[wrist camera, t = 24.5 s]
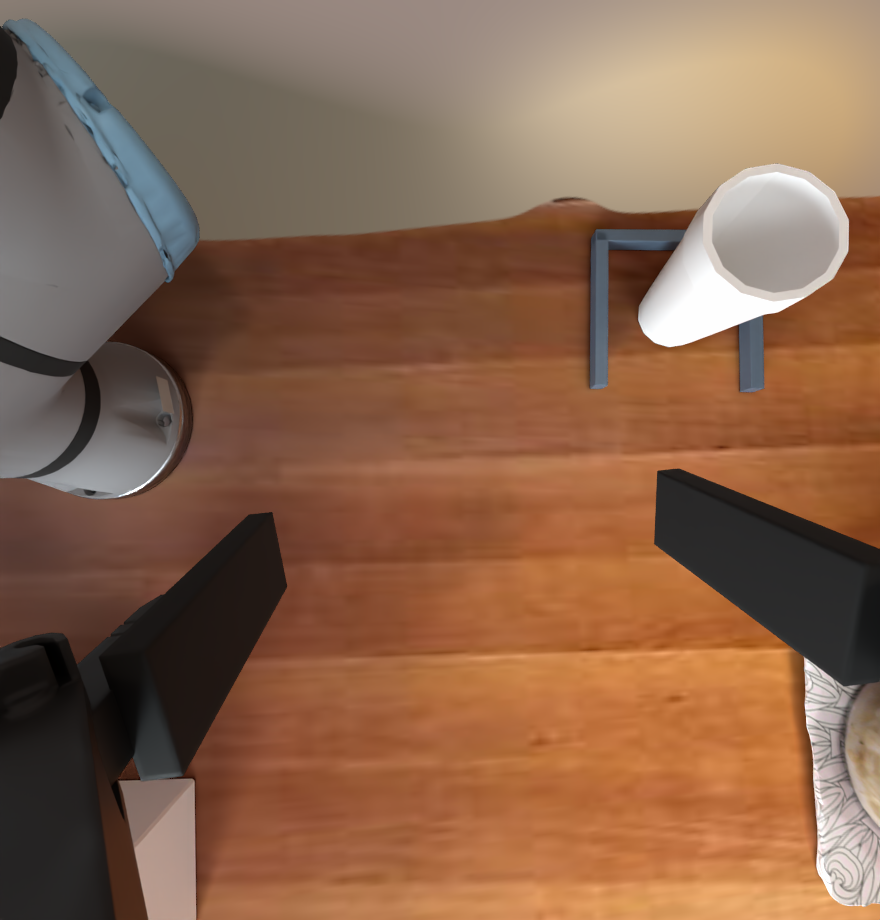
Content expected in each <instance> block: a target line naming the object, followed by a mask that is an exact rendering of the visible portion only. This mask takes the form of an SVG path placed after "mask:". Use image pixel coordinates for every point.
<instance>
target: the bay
mask: <svg viewBox="0 0 880 920" xmlns="http://www.w3.org/2000/svg"><path fill="white" fill-rule="evenodd" d="M685 232H686V230H636V229H596V231H595V232H594V234H593V236H592V238H591V320H590V389H602V388H604V387H605V386H607V385H608V250H675V249H676V248H677V246H678V245H679V243H680V242H681V240H682V239H683V237H684V234H685ZM739 355H740V392H755V391H758V390H761V389H764V350H763V315H762V316H759V317H756V318H754V319H751V320H749V321H746V322H743V323H741V324H739Z"/></svg>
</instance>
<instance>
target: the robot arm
mask: <svg viewBox="0 0 880 920" xmlns="http://www.w3.org/2000/svg"><path fill="white" fill-rule="evenodd" d="M2 27H3V28H1V26H0V478H27V479H29V480H32V481H35V482H38V483H41V484H44V485H47V486H50V487H53V488H56V489H59V490H62V491H65V492H68V493H70V494H73V495H76V496H79V497H84V498H89V499H117V498H127V497H131V496H135V495H138V494H141V493H143V492H146V491H148V490H150V489H151V488H153V487H155V486H156V485H158V484H159V483H161V482H162V481H163V480H164V479H165V478H166V477H167V476H168V475H169V474H170V473H171V472H172V471H173V470H174V469H175V468H176V466H177V465H178V463H179V462H180V460H181V459H182V457H183V455H184V453H185V451H186V448H187V446H188V443H189V440H190V435H191V430H192V408H191V402H190V399H189V395H188V393H187V390H186V388H185V386H184V384H183V382H182V380H181V379H180V377H179V376H178V375H177V373H176V372H175V371H174V370H173V369H172V368H171V367H170V366H169V365H168V364H167V363H166V362H164V361H163V360H161V359H160V358H158V357H156V356H155V355H153V354H151V353H148V352H146V351H144V350H141V349H139V348H137V347H134V346H132V345H128V344H124V343H118V342H106V341H107V340H108V339H109V338H110V337H111V336H112V335H113V334H114V333H115V332H116V331H117V330H118V329H119V328H120V327H121V326H122V325H123V324H124V322H125V321H126V320H127V319H128V318H129V317H130V316H131V315H132V314H133V313H134V312H135V311H136V310H137V309H138V308H139V307H140V306H141V305H142V304H143V303H144V302H145V301H146V300H147V299H148V298H149V297H150V296H151V295H152V294H153V293H154V292H155V291H156V290H157V289H158V288H159V287H160V285H161V284H162V283H163V282H164V281H165V282H170V281H171V280H172V279H173V277H174V271H175V270H176V269H177V268H178V267H179V266H180V264H181V263H182V262H183V261H184V260H185V259H186V258H187V256H188V255H189V254H190V253H191V252H192V251H193V250H194V248H195V247H196V245H197V243H198V241H199V238H200V237H199V224H198V221H197V217H196V215H195V213H194V211H193V209H192V207H191V205H190V204H189V202H188V201H187V199H186V197H185V196H184V194H183V193H182V192H181V190H180V189H179V187H178V186H177V185H176V183H175V182H174V180H173V179H172V177H171V176H170V175H169V173H168V172H167V171H166V169H165V168H164V167H163V165H162V164H161V163H160V161H159V160H158V159H157V158H156V156H155V155H154V154H153V152H152V151H151V150H150V149H149V148H148V146H147V145H146V144H145V142H144V141H143V140H142V139H141V137H140V136H139V135H138V134H137V132H136V131H135V130H134V129H133V127H132V126H131V125H130V124H129V123H128V122H127V121H126V119H125V118H124V117H123V116H122V114H121V113H120V112H119V111H118V110H117V109H116V108H115V107H113V106H112V105H111V104H110V103H109V102H108V100H107V98H106V97H105V96H104V95H103V93H102V92H101V91H100V90H99V89H98V88H97V86H96V85H95V84H94V82H93V81H92V80H91V79H90V77H89V76H88V75H87V73H86V72H85V71H84V70H83V69H82V68H81V67H80V65H79V64H78V63H77V62H76V61H75V60H74V59H73V58H72V57H71V56H70V55H69V54H68V53H67V51H66V50H64V49H63V47H62V46H61V45H60V44H59V43H58V42H57V41H56V40H55V39H54V38H53V37H52V36H51V35H49V34H48V33H47V32H46V31H45V30H44V29H42V28H41V27H40V26H39V25H37V24H36V23H34V22H33V21H31V20H29V19H20V20H18V21H14V20H8V21H6V22H5V23H4V25H3V26H2ZM654 544H655V545H656V546H658V547H659V548H660V549H661V550H663V551H664V552H665V553H667V554H668V555H669V556H671V557H672V558H673V559H675V560H676V561H677V562H679V563H680V564H681V565H683V566H684V567H685V568H687V569H688V570H689V571H691V572H692V573H693V574H695V575H696V576H697V577H699V578H700V579H701V580H703V581H704V582H705V583H707V584H708V585H709V586H711V587H712V588H713V589H715V590H716V591H717V592H719V593H720V594H721V595H723V596H724V597H725V598H727V599H728V600H729V601H731V602H732V603H733V604H735V605H736V606H737V607H739V608H740V609H741V610H743V611H744V612H745V613H747V614H748V615H749V616H751V617H752V618H753V619H755V620H756V621H757V622H759V623H760V624H761V625H763V626H764V627H765V628H767V629H768V630H769V631H771V632H772V633H773V634H774V635H776V636H777V637H778V638H780V639H781V640H782V641H784V642H785V643H786V644H788V645H789V646H790V647H792V648H793V649H794V650H796V651H797V652H798V653H800V654H801V655H802V656H804V657H805V658H806V659H808V660H809V661H810V662H812V663H813V664H814V665H816V666H817V667H818V668H820V669H821V670H822V671H824V672H825V673H826V674H828V675H829V676H830V677H832V678H833V679H834V680H836V681H837V682H838V683H840V684H841V685H842V686H844V687H846V686H853V685H861V684H868V683H876V682H880V549H878V548H876V547H873V546H871V545H868V544H866V543H863V542H861V541H858V540H856V539H853V538H851V537H848V536H846V535H843V534H841V533H838V532H836V531H833V530H831V529H828V528H826V527H823V526H821V525H818V524H816V523H813V522H811V521H808V520H806V519H803V518H801V517H798V516H796V515H793V514H791V513H788V512H786V511H783V510H781V509H778V508H776V507H773V506H771V505H768V504H766V503H763V502H761V501H758V500H756V499H753V498H751V497H748V496H746V495H743V494H741V493H739V492H736V491H734V490H731V489H729V488H726V487H724V486H721V485H719V484H716V483H714V482H711V481H709V480H706V479H704V478H701V477H699V476H696V475H694V474H691V473H689V472H686V471H684V470H681V469H670V470H661V471H657V492H656V516H655V540H654ZM286 588H287V583H286V578H285V573H284V568H283V563H282V558H281V553H280V548H279V543H278V538H277V533H276V528H275V523H274V518H273V513H272V512H269V513H260V514H250V515H248V516H247V517H246V518H245V519H244V520H243V521H242V522H240V523H239V524H238V525H237V526H236V527H235V528H234V529H233V530H232V531H231V532H230V533H229V534H228V535H227V536H226V537H225V538H224V539H222V540H221V541H220V542H219V543H218V544H217V545H216V546H215V547H214V548H213V549H212V550H211V551H210V552H209V553H208V554H207V555H206V556H204V557H203V558H202V559H201V560H200V561H199V562H198V563H197V564H196V565H195V566H194V567H193V568H192V569H191V570H190V571H189V572H188V573H186V574H185V575H184V576H183V577H182V578H181V579H180V580H179V581H178V582H177V583H176V584H175V585H174V586H173V587H172V588H171V589H170V590H168V591H167V592H166V593H165V594H164V595H160V596H159V597H157V598H155V599H154V600H152V601H150V602H149V603H147V604H145V605H144V606H142V607H140V608H139V609H138V610H137V611H136V612H135V613H133V614H132V615H131V616H130V617H129V618H128V619H127V620H126V621H125V622H124V625H120V626H119V627H118V628H117V629H116V630H115V631H114V632H113V633H111V637H107V638H106V639H105V640H104V641H103V642H102V643H100V644H99V645H98V646H97V647H96V648H95V649H94V650H93V651H92V652H91V653H89V654H88V655H87V656H86V657H85V658H84V659H83V660H82V661H81V662H80V663H78V664H76V661H75V658H74V656H73V653H72V650H71V647H70V645H69V642H68V639H67V637H66V636H65V635H64V634H62V633H47V634H41V635H35V636H32V637H29V638H26V639H23V640H20V641H16V642H14V643H12V644H9V645H7V646H5V647H2V648H0V920H148V915H147V910H146V905H145V900H144V895H143V890H142V885H141V880H140V875H139V870H138V865H137V860H136V855H135V850H134V845H133V840H132V836H131V831H130V826H129V821H128V816H127V811H126V806H125V801H124V796H123V792H122V789H121V786H120V783H119V781H118V777H119V775H120V774H121V772H122V771H123V770H124V768H125V767H126V765H127V764H128V763H129V761H130V760H131V758H132V757H133V759H134V762H135V765H136V768H137V771H138V774H139V777H140V779H141V782H143V781H150V780H157V779H165V778H172V777H180V776H183V775H184V773H185V772H186V770H187V768H188V766H189V764H190V762H191V761H192V759H193V757H194V755H195V753H196V752H197V750H198V748H199V746H200V744H201V742H202V741H203V739H204V737H205V735H206V733H207V732H208V730H209V728H210V726H211V724H212V722H213V721H214V719H215V717H216V715H217V713H218V712H219V710H220V708H221V706H222V704H223V702H224V701H225V699H226V697H227V695H228V693H229V692H230V690H231V688H232V686H233V684H234V682H235V681H236V679H237V677H238V675H239V673H240V672H241V670H242V668H243V666H244V664H245V662H246V661H247V659H248V657H249V655H250V653H251V652H252V650H253V648H254V646H255V644H256V642H257V641H258V639H259V637H260V635H261V633H262V632H263V630H264V628H265V626H266V624H267V622H268V621H269V619H270V617H271V615H272V613H273V612H274V610H275V608H276V606H277V604H278V602H279V601H280V599H281V597H282V595H283V593H284V592H285V590H286Z"/></svg>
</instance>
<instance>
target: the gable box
mask: <svg viewBox="0 0 880 920" xmlns="http://www.w3.org/2000/svg"><path fill="white" fill-rule="evenodd" d="M119 783H120V786H121V789H122V792H123V796H124V801H125V806H126V811H127V816H128V821H129V826H130V831H131V836H132V840H133V845H134V850H135V855H136V860H137V865H138V870H139V875H140V880H141V885H142V890H143V895H144V900H145V905H146V910H147V915H148V920H196V858H195V781H194V780H193V779H163V780H150V781H143V782H141V780H129V781H119Z"/></svg>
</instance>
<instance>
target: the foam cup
mask: <svg viewBox="0 0 880 920" xmlns="http://www.w3.org/2000/svg"><path fill="white" fill-rule="evenodd" d="M848 239H849V220H848V217H847V215H846V213H845V211H844V209H843V207H842V205H841V203H840V201H839V199H838V197H837V195H836V193H835V191H833V190H832V189H831V188H829V187H828V186H827V185H826V184H824V183H823V182H822V181H820V180H819V179H818V178H817V177H815V176H814V175H813V174H812V173H810V172H809V171H805V170H801V169H797V168H794V167H789V166H786V165H782V164H770V165H764V166H758V167H752V168H746V169H744V170H742V171H741V172H740V173H738V174H737V175H735V176H734V177H732V178H731V179H729V180H728V181H726V182H725V183H723V184H722V185H720V186H719V187H718V188H717V189H716V190H715V192H714V193H713V194H712V195H711V196H710V197H709V198H708V199H707V201H706V202H705V203H704V204H703V205H702V206H701V207H700V209H699V210H698V211H697V213H696V215H695V216H694V218H693V220H692V222H691V223H690V225H689V227H688V229H687V230H686V232H685V234H684V237H683V239H682V240H681V242H680V243H679V245H678V246H677V248H676V249H675V251H674V252H673V254H672V255H671V257H670V258H669V260H668V261H667V263H666V264H665V266H664V267H663V269H662V270H661V272H660V273H659V275H658V276H657V278H656V279H655V281H654V282H653V284H652V285H651V287H650V288H649V290H648V292H647V293H646V295H645V296H644V298H643V300H642V302H641V303H640V305H639V313H638V321H639V323H640V326H641V328H642V330H643V333H644V334H645V335H646V336H647V337H649V338H650V339H651V340H652V341H653V342H654V343H657V344H660V345H664V346H667V347H673V346H680V345H684V344H688V343H691V342H693V341H696V340H698V339H701V338H704V337H706V336H709V335H712V334H714V333H717V332H720V331H722V330H725V329H727V328H730V327H733V326H735V325H738V324H741V323H743V322H746V321H749V320H751V319H754V318H756V317H759V316H762V315H764V314H770V313H777V312H779V311H781V310H783V309H785V308H787V307H789V306H790V305H792V304H794V303H796V302H798V301H800V300H801V299H803V298H805V297H807V296H808V295H810V294H811V293H813V292H814V291H816V290H817V289H819V288H820V287H822V286H823V285H825V284H826V283H828V282H829V281H830V280H832V279H833V278H834V276H835V274H836V273H837V271H838V269H839V267H840V265H841V264H842V262H843V260H844V258H845V256H846V254H847V253H848Z"/></svg>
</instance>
